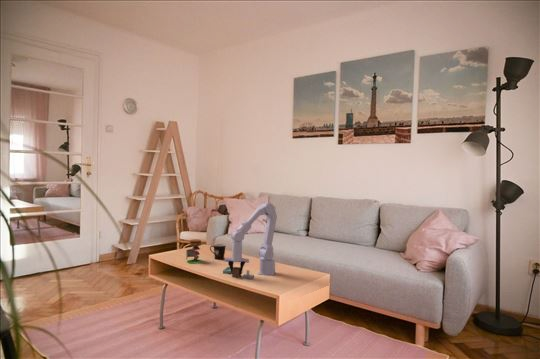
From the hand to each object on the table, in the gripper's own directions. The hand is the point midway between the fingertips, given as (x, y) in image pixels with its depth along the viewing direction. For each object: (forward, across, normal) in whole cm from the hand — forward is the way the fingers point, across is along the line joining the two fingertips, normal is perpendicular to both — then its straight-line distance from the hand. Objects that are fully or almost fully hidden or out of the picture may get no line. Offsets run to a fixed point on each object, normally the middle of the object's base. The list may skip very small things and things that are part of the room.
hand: (236, 274), depth 215 cm
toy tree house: (+2, +34, -30) cm, 45 cm away
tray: (+1, +4, -9) cm, 10 cm away
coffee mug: (+2, +20, -42) cm, 46 cm away
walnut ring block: (+1, 0, 0) cm, 1 cm away
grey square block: (+1, -7, +1) cm, 7 cm away
